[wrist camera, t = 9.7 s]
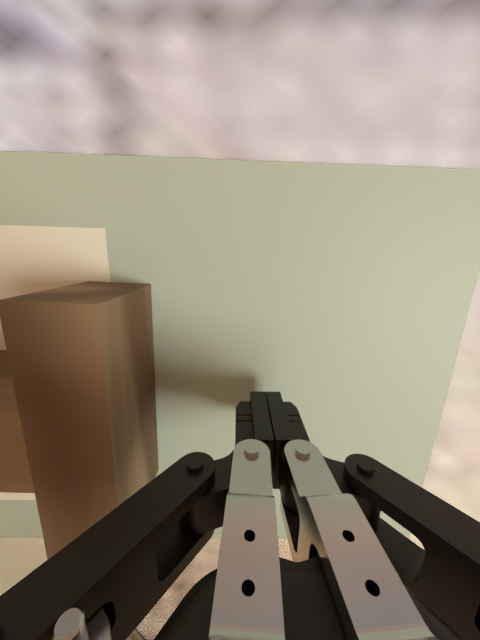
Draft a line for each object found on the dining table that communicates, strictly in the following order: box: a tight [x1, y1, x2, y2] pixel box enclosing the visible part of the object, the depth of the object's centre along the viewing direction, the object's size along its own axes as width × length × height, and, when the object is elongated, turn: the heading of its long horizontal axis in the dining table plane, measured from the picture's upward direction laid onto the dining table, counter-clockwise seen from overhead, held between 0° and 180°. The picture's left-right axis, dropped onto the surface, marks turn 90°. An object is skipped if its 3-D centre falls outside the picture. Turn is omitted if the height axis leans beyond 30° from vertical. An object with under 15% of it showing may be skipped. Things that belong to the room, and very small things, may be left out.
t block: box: [0, 281, 159, 559], centre depth 12 cm, size 10×11×5 cm
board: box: [0, 151, 480, 539], centre depth 15 cm, size 27×22×1 cm
